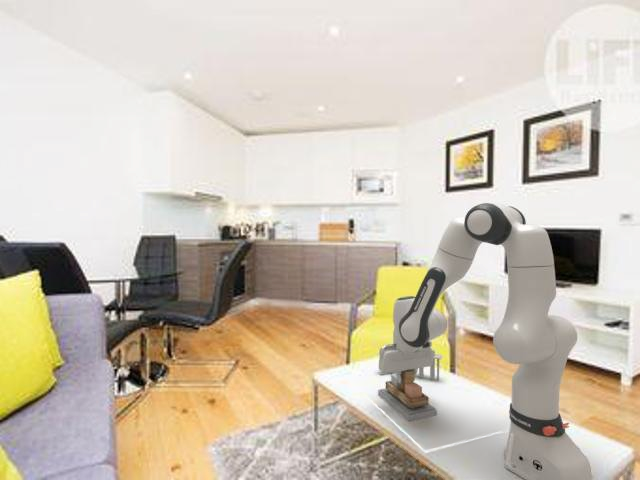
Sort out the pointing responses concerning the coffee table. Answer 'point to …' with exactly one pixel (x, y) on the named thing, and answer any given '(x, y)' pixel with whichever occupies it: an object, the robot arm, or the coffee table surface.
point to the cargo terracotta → (413, 390)
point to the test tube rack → (432, 367)
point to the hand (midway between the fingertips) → (406, 381)
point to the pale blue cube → (394, 380)
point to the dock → (404, 409)
